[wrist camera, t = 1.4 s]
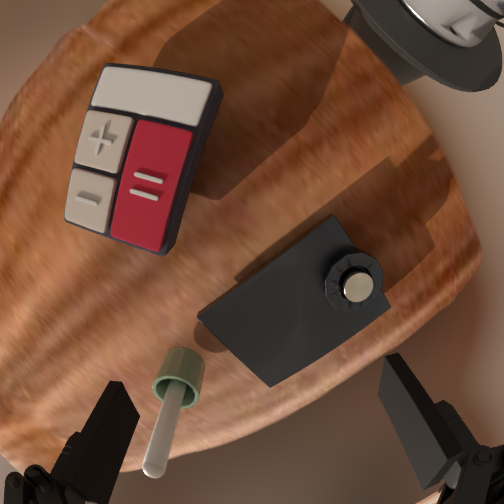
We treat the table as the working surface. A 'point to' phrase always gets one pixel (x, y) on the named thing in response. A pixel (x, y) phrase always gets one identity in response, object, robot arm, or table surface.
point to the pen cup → (180, 374)
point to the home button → (356, 285)
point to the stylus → (164, 430)
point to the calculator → (140, 154)
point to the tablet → (296, 304)
